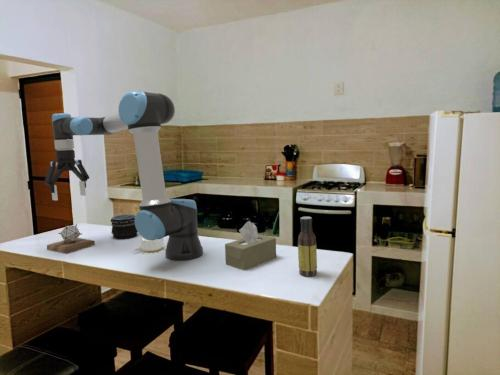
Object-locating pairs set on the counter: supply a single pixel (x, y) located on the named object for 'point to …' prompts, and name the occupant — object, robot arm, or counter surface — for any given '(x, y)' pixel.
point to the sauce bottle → (307, 248)
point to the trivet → (70, 245)
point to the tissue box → (250, 248)
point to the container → (124, 226)
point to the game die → (70, 233)
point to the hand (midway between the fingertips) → (69, 197)
